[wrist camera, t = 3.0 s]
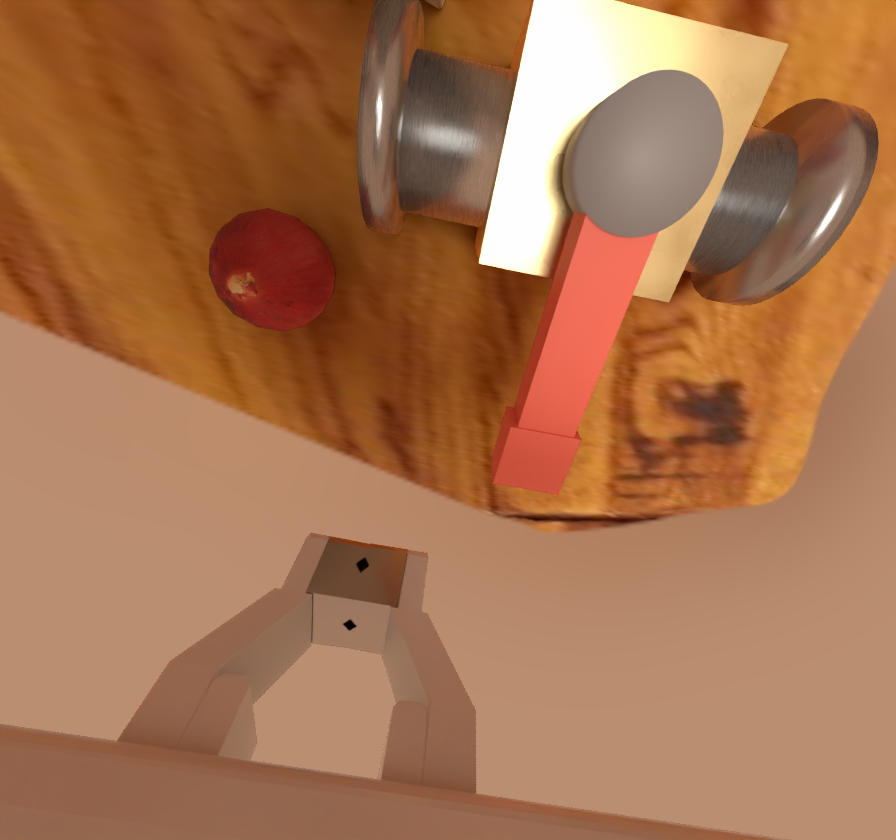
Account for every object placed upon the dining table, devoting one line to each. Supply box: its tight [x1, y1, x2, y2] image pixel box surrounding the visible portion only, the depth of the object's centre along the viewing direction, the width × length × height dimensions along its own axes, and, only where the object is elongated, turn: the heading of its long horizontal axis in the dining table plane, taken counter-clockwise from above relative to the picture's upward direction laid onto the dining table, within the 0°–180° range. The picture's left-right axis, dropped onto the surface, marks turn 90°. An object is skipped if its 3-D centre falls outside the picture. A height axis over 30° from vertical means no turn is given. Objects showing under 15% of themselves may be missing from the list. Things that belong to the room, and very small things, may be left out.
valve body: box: [358, 0, 879, 306], centre depth 17 cm, size 18×8×9 cm, turn 80°
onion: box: [209, 208, 336, 331], centre depth 20 cm, size 6×6×8 cm
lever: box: [491, 69, 724, 495], centre depth 15 cm, size 14×4×2 cm, turn 169°
